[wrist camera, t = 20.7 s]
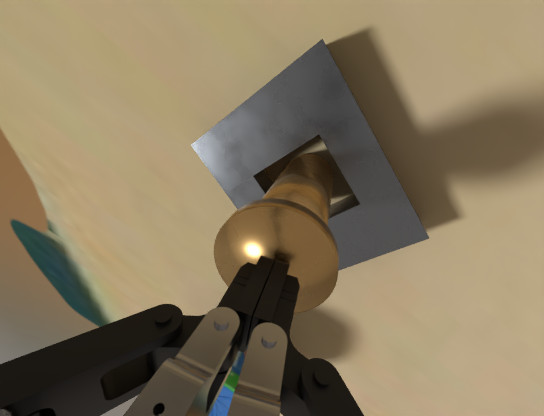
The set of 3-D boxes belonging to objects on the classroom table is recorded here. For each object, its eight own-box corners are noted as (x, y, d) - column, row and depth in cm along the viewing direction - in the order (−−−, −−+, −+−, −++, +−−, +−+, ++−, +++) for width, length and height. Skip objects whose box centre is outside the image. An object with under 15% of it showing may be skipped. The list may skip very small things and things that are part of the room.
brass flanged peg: (263, 167, 26) (190, 240, 14) (319, 131, 24) (291, 184, 11) (297, 218, 28) (259, 325, 16) (354, 190, 25) (362, 294, 13)
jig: (206, 139, 27) (190, 145, 24) (325, 44, 21) (322, 38, 18) (298, 269, 31) (293, 286, 28) (420, 221, 25) (429, 238, 22)
